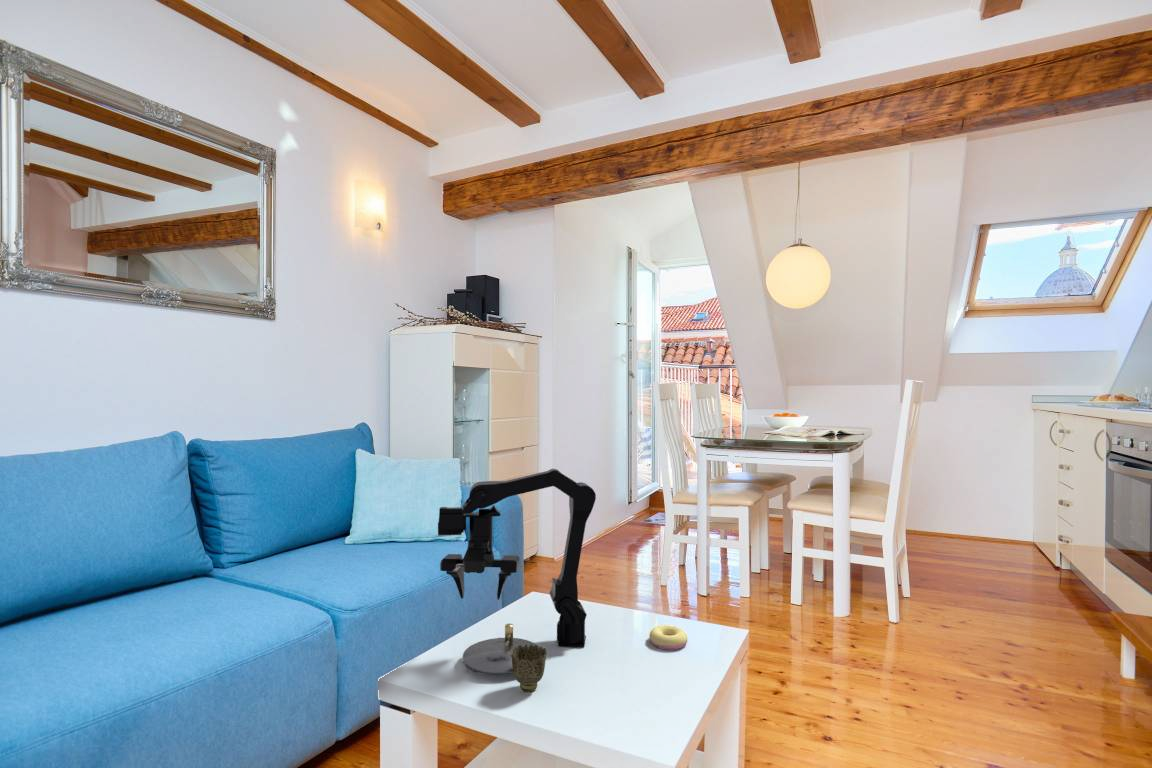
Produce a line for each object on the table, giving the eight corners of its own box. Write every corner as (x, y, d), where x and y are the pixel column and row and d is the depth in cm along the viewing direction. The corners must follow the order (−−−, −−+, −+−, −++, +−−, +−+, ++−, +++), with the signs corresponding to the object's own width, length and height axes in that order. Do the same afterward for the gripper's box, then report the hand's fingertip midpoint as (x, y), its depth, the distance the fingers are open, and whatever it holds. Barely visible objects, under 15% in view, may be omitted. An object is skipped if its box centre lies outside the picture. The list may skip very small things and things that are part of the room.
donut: (653, 659, 145) (691, 654, 145) (651, 642, 145) (689, 637, 145) (648, 637, 155) (684, 632, 155) (646, 620, 155) (682, 615, 155)
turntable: (546, 642, 146) (546, 624, 147) (535, 676, 129) (535, 655, 129) (473, 640, 148) (474, 622, 148) (453, 673, 130) (453, 652, 130)
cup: (541, 699, 121) (541, 659, 121) (506, 696, 123) (506, 656, 123) (550, 682, 129) (550, 644, 129) (517, 679, 130) (517, 642, 130)
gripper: (433, 541, 140) (432, 609, 139) (512, 543, 138) (512, 611, 138) (447, 530, 151) (446, 593, 150) (520, 532, 149) (520, 595, 149)
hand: (480, 598), depth 147 cm, fingers open, 9 cm apart
